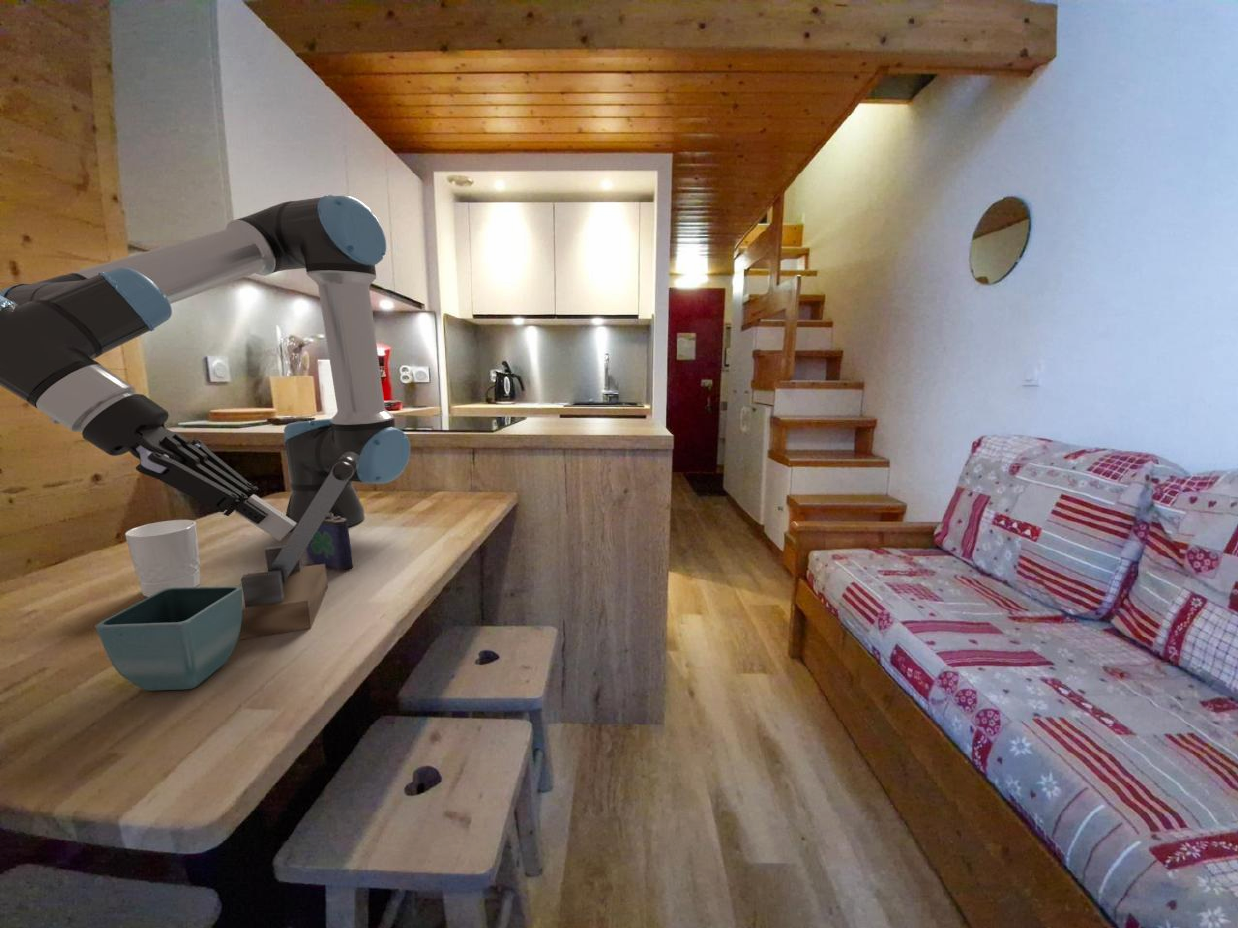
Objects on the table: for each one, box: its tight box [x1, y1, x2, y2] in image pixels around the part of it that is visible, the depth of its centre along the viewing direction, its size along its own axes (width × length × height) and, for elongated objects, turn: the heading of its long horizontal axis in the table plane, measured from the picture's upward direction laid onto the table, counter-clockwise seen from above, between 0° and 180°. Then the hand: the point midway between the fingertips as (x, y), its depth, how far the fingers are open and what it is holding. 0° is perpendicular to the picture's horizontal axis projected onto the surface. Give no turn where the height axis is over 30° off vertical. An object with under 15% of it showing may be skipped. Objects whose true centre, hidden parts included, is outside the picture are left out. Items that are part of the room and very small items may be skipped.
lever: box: [267, 452, 360, 584], centre depth 67 cm, size 3×9×21 cm
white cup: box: [124, 519, 201, 598], centre depth 75 cm, size 8×8×10 cm
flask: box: [301, 512, 354, 572], centre depth 84 cm, size 9×3×11 cm, turn 74°
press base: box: [237, 544, 329, 641], centre depth 68 cm, size 10×13×8 cm
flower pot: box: [94, 585, 242, 691], centre depth 54 cm, size 9×9×9 cm
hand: (288, 531), depth 67 cm, fingers closed
